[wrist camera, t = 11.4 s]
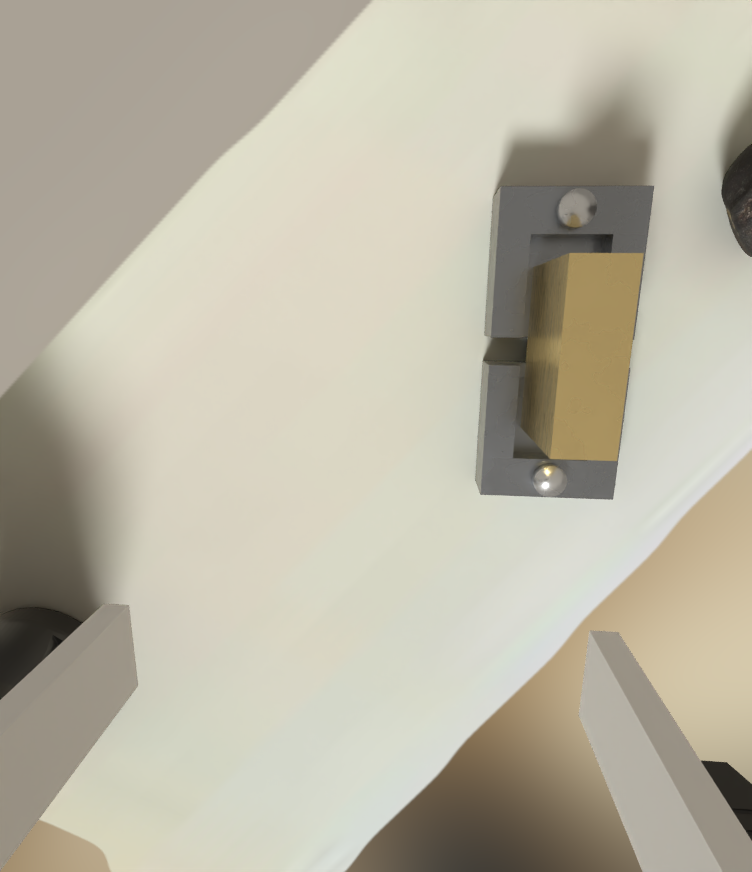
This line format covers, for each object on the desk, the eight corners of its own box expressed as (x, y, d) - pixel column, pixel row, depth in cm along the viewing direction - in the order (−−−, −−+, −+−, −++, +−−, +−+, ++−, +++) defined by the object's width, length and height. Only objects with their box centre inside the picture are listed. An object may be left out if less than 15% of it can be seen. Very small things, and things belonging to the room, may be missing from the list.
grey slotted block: (475, 480, 43) (481, 498, 39) (492, 197, 38) (502, 183, 33) (596, 484, 42) (617, 503, 38) (632, 197, 37) (659, 182, 33)
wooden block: (520, 427, 40) (550, 459, 31) (533, 267, 37) (569, 253, 28) (572, 428, 40) (617, 461, 31) (589, 267, 37) (643, 253, 28)
